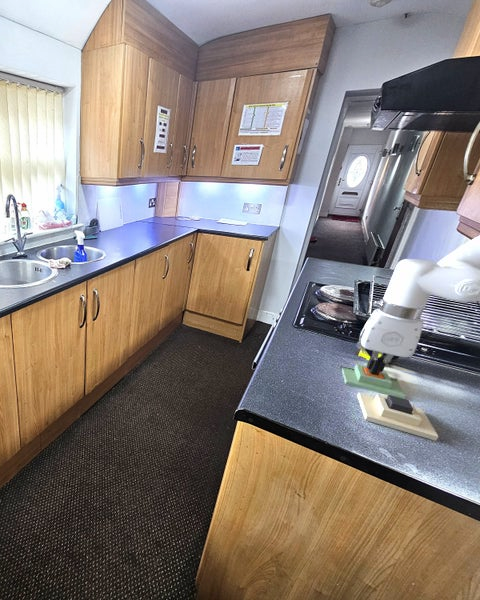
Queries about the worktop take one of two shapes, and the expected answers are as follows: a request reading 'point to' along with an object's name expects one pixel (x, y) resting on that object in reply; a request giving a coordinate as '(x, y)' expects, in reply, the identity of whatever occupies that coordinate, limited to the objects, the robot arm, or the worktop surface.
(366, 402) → the cream flat stepped block
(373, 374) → the key
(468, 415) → the worktop surface
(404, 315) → the robot arm
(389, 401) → the key
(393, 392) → the green flat stepped block
